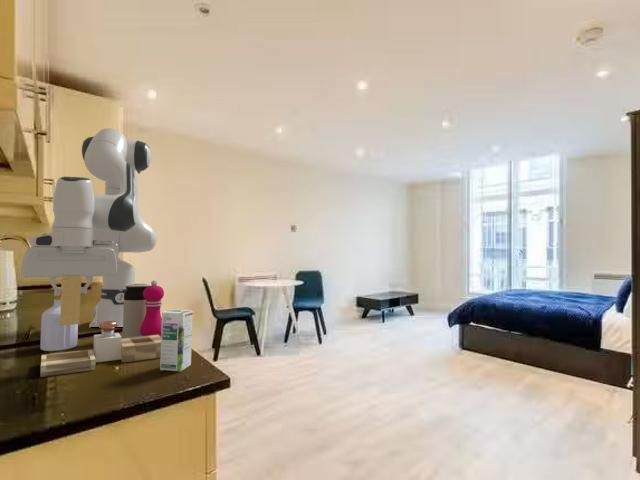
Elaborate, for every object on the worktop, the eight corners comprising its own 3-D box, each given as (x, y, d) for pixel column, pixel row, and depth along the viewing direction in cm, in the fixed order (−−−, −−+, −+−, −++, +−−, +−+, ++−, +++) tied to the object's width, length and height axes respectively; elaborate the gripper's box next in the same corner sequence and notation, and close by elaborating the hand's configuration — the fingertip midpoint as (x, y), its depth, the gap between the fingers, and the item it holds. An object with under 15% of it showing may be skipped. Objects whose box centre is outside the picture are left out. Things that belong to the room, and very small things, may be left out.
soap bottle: (46, 344, 117) (50, 264, 118) (81, 343, 120) (83, 264, 120) (34, 352, 108) (38, 265, 109) (72, 350, 111) (75, 265, 112)
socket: (117, 352, 110) (117, 338, 110) (157, 347, 116) (158, 334, 116) (122, 362, 101) (123, 347, 101) (166, 356, 107) (167, 342, 107)
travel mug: (150, 340, 126) (152, 285, 126) (123, 342, 121) (125, 285, 122) (147, 335, 132) (148, 283, 133) (121, 337, 128) (123, 283, 129)
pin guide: (93, 357, 105) (94, 335, 105) (117, 354, 109) (118, 332, 109) (95, 362, 100) (96, 339, 100) (120, 359, 104) (121, 336, 104)
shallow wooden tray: (41, 364, 97) (41, 355, 97) (91, 358, 104) (91, 349, 104) (40, 377, 88) (40, 366, 88) (95, 369, 95) (95, 359, 95)
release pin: (96, 355, 105) (98, 322, 105) (114, 353, 108) (116, 320, 108) (98, 359, 101) (99, 324, 102) (117, 357, 104) (118, 323, 104)
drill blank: (59, 322, 97) (61, 275, 97) (78, 321, 99) (80, 274, 99) (60, 325, 93) (62, 276, 94) (79, 324, 96) (81, 275, 96)
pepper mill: (155, 347, 116) (157, 281, 117) (134, 346, 118) (136, 280, 118) (169, 342, 123) (171, 279, 124) (149, 340, 125) (151, 279, 125)
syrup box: (158, 370, 95) (160, 311, 95) (171, 363, 101) (173, 308, 101) (180, 372, 94) (182, 312, 95) (191, 365, 100) (193, 309, 100)
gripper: (117, 241, 105) (115, 291, 105) (23, 238, 94) (20, 295, 93) (120, 241, 100) (118, 294, 100) (21, 238, 89) (19, 298, 88)
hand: (70, 294), depth 96 cm, fingers closed on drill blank, 4 cm apart
